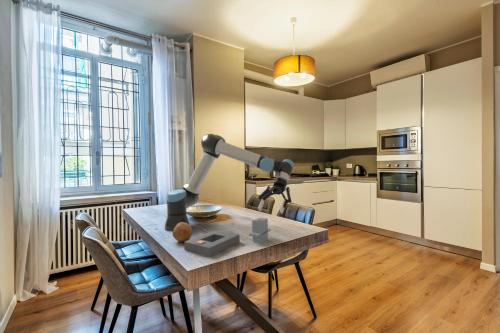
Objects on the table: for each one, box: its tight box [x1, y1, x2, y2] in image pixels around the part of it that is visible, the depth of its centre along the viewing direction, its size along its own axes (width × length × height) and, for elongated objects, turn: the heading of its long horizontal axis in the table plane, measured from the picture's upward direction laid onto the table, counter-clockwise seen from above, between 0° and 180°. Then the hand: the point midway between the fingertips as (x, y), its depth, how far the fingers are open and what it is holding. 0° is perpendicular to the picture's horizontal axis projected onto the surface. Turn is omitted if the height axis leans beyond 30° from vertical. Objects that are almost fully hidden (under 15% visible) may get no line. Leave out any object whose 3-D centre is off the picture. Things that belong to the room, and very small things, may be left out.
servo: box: [248, 217, 271, 244], centre depth 127 cm, size 13×5×12 cm, turn 146°
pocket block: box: [183, 229, 241, 258], centre depth 121 cm, size 22×16×5 cm
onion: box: [172, 222, 193, 243], centre depth 129 cm, size 10×10×10 cm
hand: (269, 210), depth 135 cm, fingers open, 13 cm apart
